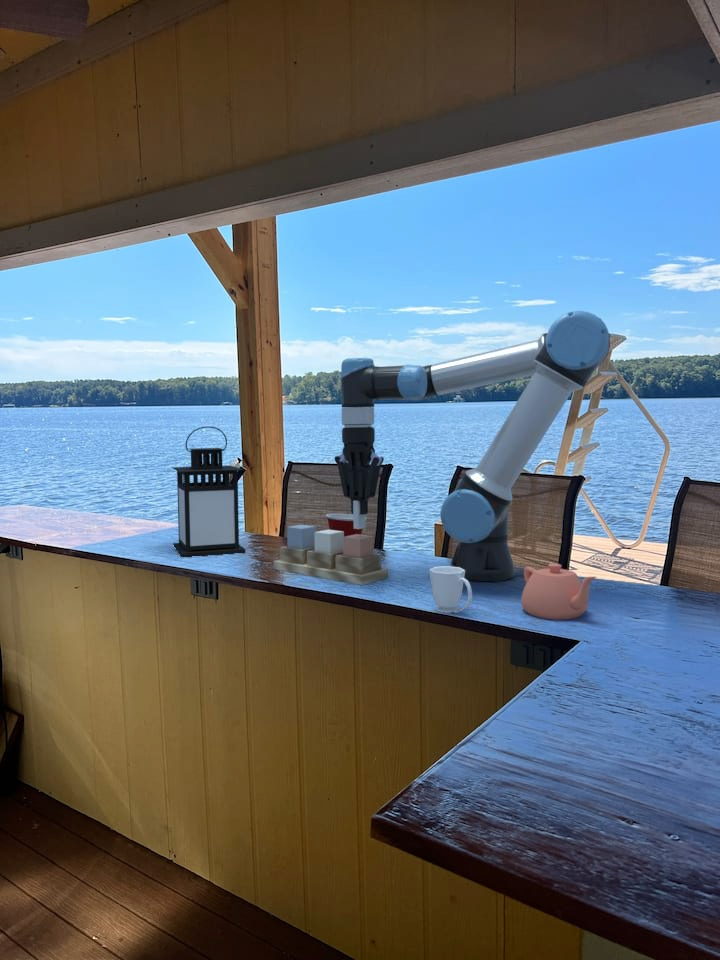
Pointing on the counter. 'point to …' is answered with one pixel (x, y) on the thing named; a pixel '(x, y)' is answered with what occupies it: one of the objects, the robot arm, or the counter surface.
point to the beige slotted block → (331, 565)
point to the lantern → (207, 505)
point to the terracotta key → (358, 546)
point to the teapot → (555, 593)
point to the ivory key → (329, 541)
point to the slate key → (301, 536)
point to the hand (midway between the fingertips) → (359, 528)
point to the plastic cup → (343, 524)
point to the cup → (449, 588)
